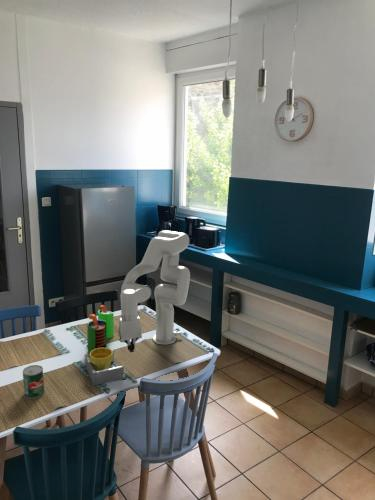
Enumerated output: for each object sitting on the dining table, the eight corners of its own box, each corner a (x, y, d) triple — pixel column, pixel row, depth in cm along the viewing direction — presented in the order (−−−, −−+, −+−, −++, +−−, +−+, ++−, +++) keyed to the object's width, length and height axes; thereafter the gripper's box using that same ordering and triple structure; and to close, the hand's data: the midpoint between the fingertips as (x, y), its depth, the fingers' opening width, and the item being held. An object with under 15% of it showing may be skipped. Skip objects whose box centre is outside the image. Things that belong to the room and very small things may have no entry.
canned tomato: (32, 386, 174) (30, 363, 172) (48, 389, 172) (46, 366, 170) (20, 396, 167) (18, 373, 164) (36, 400, 165) (34, 376, 162)
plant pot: (110, 378, 182) (110, 358, 180) (87, 377, 182) (87, 358, 180) (114, 366, 192) (114, 347, 190) (92, 365, 192) (92, 347, 190)
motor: (101, 358, 199) (100, 320, 194) (84, 355, 201) (82, 318, 196) (109, 348, 209) (108, 312, 204) (92, 346, 211) (91, 310, 206)
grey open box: (113, 360, 197) (113, 349, 196) (123, 378, 182) (123, 366, 181) (85, 366, 192) (85, 354, 190) (93, 385, 177) (93, 373, 175)
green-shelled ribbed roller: (117, 334, 225) (116, 304, 220) (107, 340, 218) (106, 309, 214) (105, 330, 229) (104, 300, 225) (94, 335, 223) (93, 305, 218)
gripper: (142, 309, 192) (143, 343, 198) (111, 315, 186) (113, 350, 192) (147, 316, 186) (148, 351, 191) (116, 322, 180) (118, 358, 185)
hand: (131, 350), depth 191 cm, fingers closed
